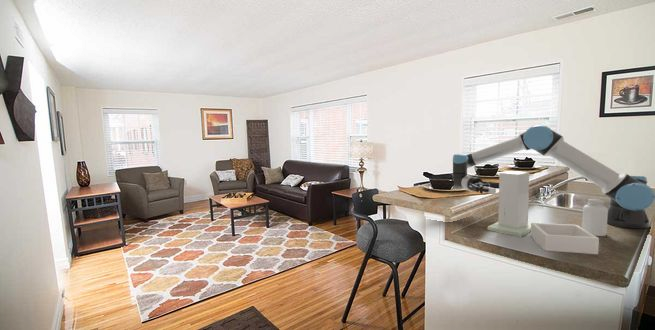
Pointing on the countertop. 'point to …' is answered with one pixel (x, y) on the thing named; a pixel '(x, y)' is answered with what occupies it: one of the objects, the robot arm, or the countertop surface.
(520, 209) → the tall white carton
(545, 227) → the tray
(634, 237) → the countertop surface
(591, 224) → the pill bottle
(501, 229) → the cutting board
